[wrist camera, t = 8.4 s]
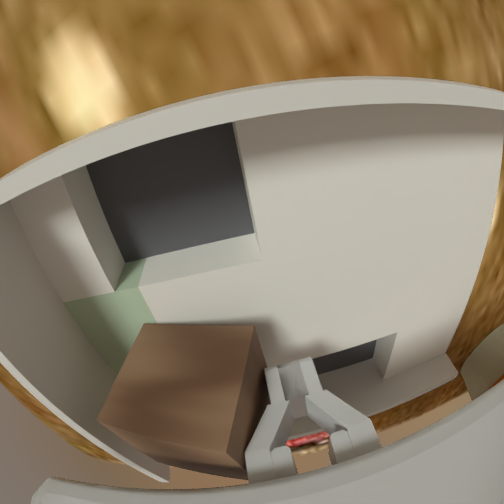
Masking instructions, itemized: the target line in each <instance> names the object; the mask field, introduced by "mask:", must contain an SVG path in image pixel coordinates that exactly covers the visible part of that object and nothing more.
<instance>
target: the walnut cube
mask: <svg viewBox="0 0 504 504" xmlns="http://www.w3.org/2000/svg"><path fill="white" fill-rule="evenodd" d="M264 368H268V367H267V364H266V361H265V358H264V355H263V352H262V349H261V345H260V342H259V339H258V336H257V333H256V330H255V327H254V326H208V325H170V324H149V323H144V324H143V326H142V328H141V330H140V332H139V334H138V336H137V337H136V339H135V341H134V343H133V345H132V347H131V349H130V351H129V353H128V355H127V357H126V359H125V361H124V363H123V365H122V367H121V369H120V371H119V373H118V375H117V377H116V379H115V382H114V384H113V386H112V388H111V390H110V392H109V394H108V396H107V398H106V401H105V403H104V405H103V407H102V409H101V412H100V414H99V416H98V418H97V421H98V422H99V423H101V424H102V425H103V426H105V427H106V428H107V429H109V430H110V431H111V432H113V433H114V434H116V435H117V436H118V437H120V438H121V439H123V440H124V441H126V442H127V443H129V444H130V445H132V446H133V447H135V448H136V449H138V450H139V451H141V452H142V453H144V454H145V455H147V456H149V457H150V458H152V459H154V460H155V461H157V462H160V463H163V464H167V465H171V466H175V467H179V468H183V469H187V470H192V471H197V472H201V473H207V474H211V475H217V476H223V477H229V478H236V479H244V480H248V474H247V467H246V460H245V451H246V449H247V447H248V445H249V443H250V441H251V439H252V437H253V435H254V432H255V430H256V428H257V426H258V424H259V422H260V420H261V418H262V416H263V414H264V411H265V409H266V407H267V405H269V404H271V401H270V396H269V392H268V387H267V382H266V377H265V371H264Z"/></svg>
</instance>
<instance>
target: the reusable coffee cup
mask: <svg viewBox="0 0 504 504" xmlns="http://www.w3.org/2000/svg"><path fill="white" fill-rule="evenodd" d="M460 372H461V375H462V377H463V380H464V382H465V384H466V387H467V389H468V392H469V394H470V397H471V399H472V401H473V400H474V399H476V398H477V397H479V396H480V395H482V394H483V393H485V392H486V391H488V390H489V389H490V388H492V387H493V386H495V385H496V384H497V383H499V382H500V381H501V380H503V379H504V323H503V324H502V325H500V326H499V327H497V328H496V329H495V330H494V331H493V332H491V333H490V334H489V335H488V336H487V337H486V338H485V339H484V340H483V341H482V342H481V343H480V344H479V345H478V346H477V347H476V348H475V349H474V351H473V352H472V353H471V354H470V355H469V357H468V358H467V359H466V361H465V362H464V364H463V366H462V368H461V371H460Z"/></svg>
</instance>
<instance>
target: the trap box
mask: <svg viewBox="0 0 504 504" xmlns="http://www.w3.org/2000/svg"><path fill="white" fill-rule="evenodd" d="M503 136H504V92H503V91H499V90H495V89H491V88H486V87H482V86H477V85H472V84H467V83H460V82H453V81H445V80H436V79H426V78H413V77H393V76H347V77H326V78H312V79H301V80H292V81H283V82H275V83H268V84H261V85H255V86H249V87H243V88H238V89H233V90H227V91H223V92H218V93H213V94H209V95H204V96H200V97H196V98H192V99H188V100H184V101H180V102H177V103H173V104H170V105H166V106H163V107H159V108H156V109H153V110H149V111H146V112H143V113H140V114H137V115H134V116H131V117H128V118H125V119H123V120H120V121H117V122H114V123H112V124H109V125H107V126H104V127H101V128H99V129H96V130H94V131H91V132H89V133H87V134H84V135H82V136H80V137H77V138H75V139H73V140H71V141H68V142H66V143H64V144H62V145H60V146H58V147H56V148H54V149H52V150H49V151H47V152H45V153H44V154H42V155H40V156H38V157H36V158H34V159H32V160H30V161H28V162H26V163H25V164H23V165H21V166H20V167H18V168H16V169H15V170H13V171H11V172H10V173H8V174H7V175H5V176H4V177H2V178H1V179H0V363H1V364H2V365H3V366H4V367H5V368H6V369H7V370H8V371H9V372H10V373H11V374H12V375H13V376H14V377H15V378H16V379H17V380H18V381H19V382H20V383H21V384H22V385H23V386H24V387H25V388H26V389H27V390H28V391H29V392H30V393H31V394H32V395H33V396H34V397H35V398H37V399H38V400H39V401H40V402H41V403H42V404H43V405H45V406H46V407H47V408H48V409H49V410H50V411H52V412H53V413H54V414H55V415H56V416H58V417H59V418H60V419H61V420H63V421H64V422H65V423H67V424H68V425H69V426H70V427H72V428H73V429H74V430H76V431H77V432H78V433H80V434H81V435H83V436H84V437H85V438H87V439H88V440H90V441H91V442H93V443H94V444H96V445H97V446H99V447H100V448H102V449H103V450H105V451H106V452H108V453H109V454H111V455H113V456H114V457H116V458H118V459H119V460H121V461H123V462H124V463H126V464H128V465H130V466H132V467H133V468H135V469H137V470H139V471H140V472H142V473H144V474H146V475H148V476H150V477H152V478H154V479H156V480H158V481H160V482H170V473H169V472H170V470H169V465H167V464H163V463H160V462H157V461H155V460H154V459H152V458H150V457H149V456H147V455H145V454H144V453H142V452H141V451H139V450H138V449H136V448H135V447H133V446H132V445H130V444H129V443H127V442H126V441H124V440H123V439H121V438H120V437H118V436H117V435H116V434H114V433H113V432H111V431H110V430H109V429H107V428H106V427H105V426H103V425H102V424H101V423H99V422H98V421H97V418H98V416H99V414H100V412H101V409H102V407H103V405H104V403H105V401H106V398H107V396H108V394H109V392H110V390H111V388H112V386H113V384H114V382H115V379H116V377H117V375H118V373H119V371H120V369H121V367H122V365H123V363H124V361H125V359H126V357H127V355H128V353H129V351H130V349H131V347H132V345H133V343H134V341H135V339H136V337H137V336H138V334H139V332H140V330H141V328H142V326H143V324H144V323H149V324H170V325H208V326H254V327H255V330H256V333H257V336H258V339H259V342H260V345H261V349H262V352H263V355H264V358H265V361H266V364H267V367H272V366H276V365H280V364H284V363H288V362H291V361H295V360H300V359H303V358H307V357H311V358H312V360H313V363H314V366H315V368H316V371H317V374H318V377H319V380H320V383H321V386H322V389H323V390H328V391H330V392H331V393H333V394H334V395H335V396H337V397H338V398H340V399H341V400H343V401H344V402H346V403H347V404H349V405H350V406H351V407H353V408H354V409H356V410H357V411H359V412H360V413H362V414H363V415H365V416H366V417H370V416H372V415H375V414H378V413H380V412H383V411H386V410H388V409H391V408H393V407H395V406H398V405H400V404H403V403H405V402H407V401H409V400H412V399H414V398H416V397H418V396H421V395H423V394H425V393H427V392H429V391H431V390H433V389H435V388H437V387H439V386H441V385H443V384H445V383H447V382H449V381H451V380H452V379H454V378H456V376H457V375H458V371H457V370H456V368H455V367H454V365H453V363H452V362H451V360H450V359H449V357H448V356H447V354H446V351H447V349H448V347H449V344H450V342H451V340H452V338H453V336H454V334H455V331H456V329H457V327H458V324H459V322H460V320H461V317H462V315H463V312H464V310H465V307H466V305H467V302H468V300H469V297H470V294H471V291H472V289H473V286H474V283H475V280H476V277H477V274H478V271H479V267H480V264H481V261H482V258H483V254H484V250H485V247H486V243H487V239H488V235H489V231H490V227H491V222H492V218H493V213H494V208H495V203H496V197H497V191H498V185H499V178H500V170H501V161H502V150H503ZM323 431H324V430H323V429H322V428H321V427H320V426H318V425H317V424H316V423H315V422H314V421H313V420H311V419H310V418H309V417H308V415H307V416H303V417H299V418H296V419H295V421H294V423H293V426H292V429H291V432H290V435H289V437H288V440H291V439H295V438H300V437H304V436H308V435H312V434H315V433H319V432H323Z"/></svg>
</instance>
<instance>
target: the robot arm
mask: <svg viewBox="0 0 504 504" xmlns="http://www.w3.org/2000/svg"><path fill="white" fill-rule="evenodd" d="M264 371H265V377H266V382H267V387H268V392H269V396H270V401H271V404H269V405H267V407H266V409H265V411H264V414H263V416H262V418H261V420H260V422H259V424H258V426H257V428H256V430H255V432H254V435H253V437H252V439H251V441H250V443H249V445H248V447H247V449H246V451H245V460H246V467H247V474H248V480H249V484H243V485H236V486H226V487H216V488H201V489H172V490H171V489H139V488H125V487H115V486H106V485H99V484H91V483H86V482H80V481H74V480H69V479H65V478H60V477H50V478H48V479H47V480H46V481H45V482H44V483H43V484H42V485H41V486H40V487H39V489H38V490H37V491H36V492H35V494H34V495H33V497H32V500H31V503H30V504H504V379H503V380H501V381H500V382H499V383H497V384H496V385H495V386H493V387H492V388H490V389H489V390H488V391H486V392H485V393H483V394H482V395H480V396H479V397H477V398H476V399H474V400H473V401H472V402H470V403H468V404H467V405H465V406H463V407H462V408H460V409H458V410H457V411H455V412H454V413H452V414H450V415H448V416H446V417H445V418H443V419H441V420H439V421H438V422H436V423H434V424H432V425H430V426H428V427H426V428H424V429H422V430H420V431H418V432H416V433H414V434H412V435H410V436H408V437H406V438H403V439H401V440H399V441H397V442H394V443H392V444H390V445H387V446H385V447H381V444H380V441H379V439H378V436H377V434H376V431H375V429H374V426H373V424H372V421H371V419H370V418H368V417H366V416H365V415H363V414H362V413H360V412H359V411H357V410H356V409H354V408H353V407H351V406H350V405H349V404H347V403H346V402H344V401H343V400H341V399H340V398H338V397H337V396H335V395H334V394H333V393H331V392H330V391H328V390H323V389H322V386H321V383H320V380H319V377H318V374H317V371H316V368H315V366H314V363H313V360H312V358H311V357H307V358H303V359H300V360H295V361H291V362H288V363H284V364H280V365H276V366H272V367H268V368H264ZM307 415H308V417H309V418H310V419H311V420H313V421H314V422H315V423H316V424H317V425H318V426H320V427H321V428H322V429H323V430H324V431H325V432H327V433H328V434H329V435H330V442H329V457H330V461H331V464H332V465H331V466H328V467H325V468H321V469H317V470H314V471H310V472H306V473H302V474H298V472H297V468H296V464H295V461H294V458H293V456H292V453H291V450H290V448H289V447H287V446H285V445H286V443H287V440H288V437H289V435H290V432H291V429H292V426H293V423H294V421H295V419H296V418H299V417H303V416H307Z"/></svg>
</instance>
